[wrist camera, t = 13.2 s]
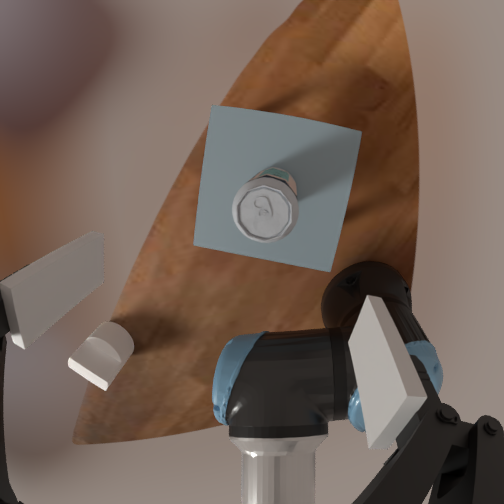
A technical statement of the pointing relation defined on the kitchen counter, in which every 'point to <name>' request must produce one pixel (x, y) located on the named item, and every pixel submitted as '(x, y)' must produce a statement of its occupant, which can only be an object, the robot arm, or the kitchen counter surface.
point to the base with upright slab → (103, 354)
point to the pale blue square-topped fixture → (287, 158)
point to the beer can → (267, 206)
